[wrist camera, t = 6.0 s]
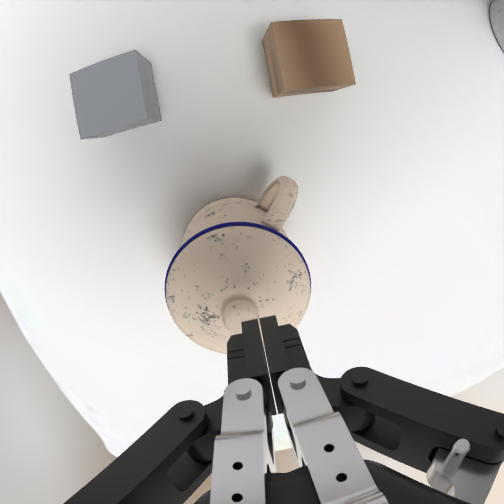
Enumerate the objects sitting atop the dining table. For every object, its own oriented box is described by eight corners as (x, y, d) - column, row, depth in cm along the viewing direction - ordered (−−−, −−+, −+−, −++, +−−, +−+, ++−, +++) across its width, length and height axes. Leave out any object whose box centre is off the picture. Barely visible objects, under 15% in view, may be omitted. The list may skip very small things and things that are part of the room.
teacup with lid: (254, 307, 30) (270, 399, 19) (164, 266, 28) (133, 349, 17) (323, 196, 27) (386, 242, 16) (228, 142, 24) (231, 150, 14)
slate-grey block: (151, 63, 21) (135, 49, 17) (161, 120, 23) (147, 118, 19) (95, 82, 21) (69, 74, 17) (105, 136, 23) (80, 139, 19)
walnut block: (321, 36, 22) (341, 19, 17) (332, 91, 23) (355, 84, 19) (262, 41, 22) (270, 22, 17) (273, 97, 23) (285, 90, 19)
